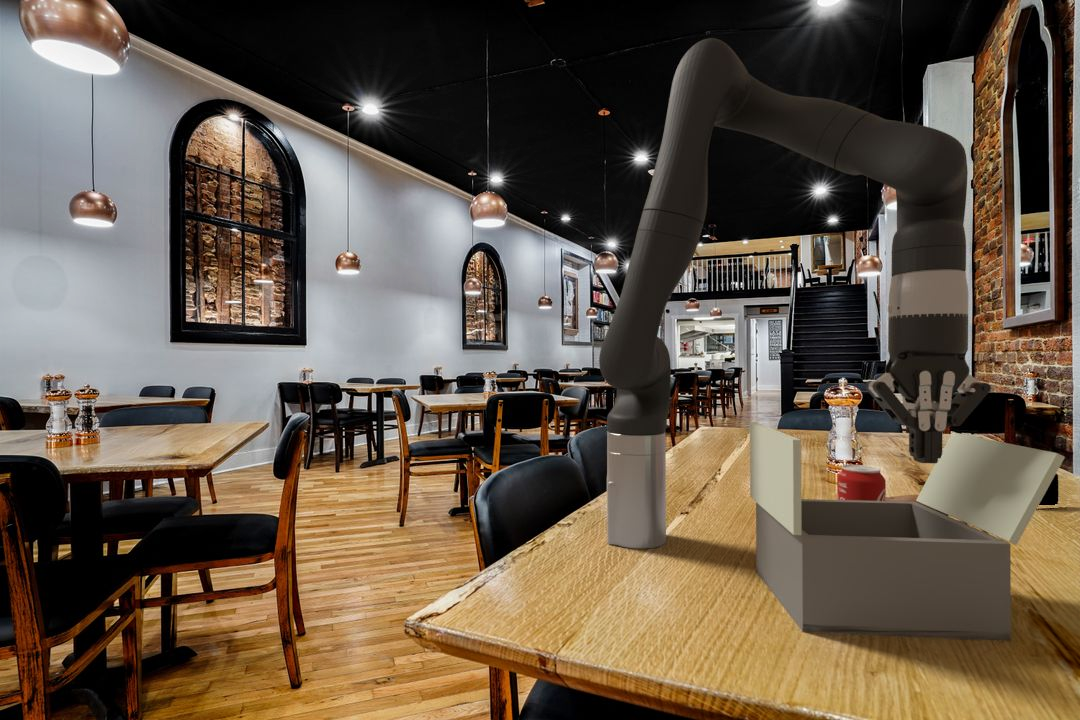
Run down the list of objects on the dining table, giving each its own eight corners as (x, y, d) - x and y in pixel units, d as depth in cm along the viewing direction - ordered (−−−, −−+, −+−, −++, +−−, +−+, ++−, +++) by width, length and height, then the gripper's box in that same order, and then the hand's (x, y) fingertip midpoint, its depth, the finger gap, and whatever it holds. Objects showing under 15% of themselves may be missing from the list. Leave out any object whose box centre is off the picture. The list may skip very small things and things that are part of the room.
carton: (794, 633, 55) (793, 440, 55) (750, 572, 71) (749, 422, 71) (1010, 643, 53) (1009, 442, 53) (915, 578, 69) (914, 423, 69)
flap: (1057, 453, 53) (1065, 456, 53) (952, 432, 69) (958, 435, 68) (1008, 541, 54) (1016, 545, 53) (915, 500, 69) (921, 503, 69)
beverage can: (893, 554, 78) (893, 472, 78) (846, 552, 79) (846, 471, 79) (875, 540, 84) (875, 464, 84) (832, 538, 85) (831, 463, 85)
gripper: (884, 310, 59) (883, 467, 59) (1013, 310, 57) (1012, 470, 57) (851, 316, 66) (850, 455, 66) (965, 315, 65) (963, 457, 65)
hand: (925, 461), depth 62 cm, fingers closed
